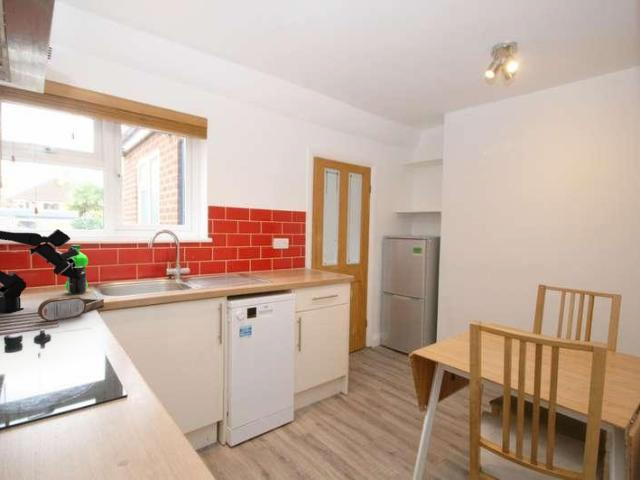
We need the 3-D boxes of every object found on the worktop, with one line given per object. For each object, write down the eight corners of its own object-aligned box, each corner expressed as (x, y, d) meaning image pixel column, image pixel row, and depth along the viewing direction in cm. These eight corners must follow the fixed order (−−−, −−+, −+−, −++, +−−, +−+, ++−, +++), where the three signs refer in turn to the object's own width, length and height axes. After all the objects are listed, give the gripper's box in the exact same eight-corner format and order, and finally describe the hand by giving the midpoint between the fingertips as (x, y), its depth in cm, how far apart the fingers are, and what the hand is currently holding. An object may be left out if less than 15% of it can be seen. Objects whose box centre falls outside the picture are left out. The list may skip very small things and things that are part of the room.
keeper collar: (82, 313, 138) (82, 306, 138) (54, 312, 139) (54, 305, 139) (103, 305, 151) (103, 299, 150) (77, 304, 151) (77, 298, 151)
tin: (84, 314, 137) (84, 294, 137) (87, 315, 135) (87, 295, 135) (37, 322, 126) (37, 300, 125) (39, 323, 124) (39, 301, 123)
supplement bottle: (65, 294, 151) (65, 267, 150) (72, 290, 157) (71, 265, 156) (83, 293, 153) (82, 267, 152) (89, 290, 159) (88, 265, 158)
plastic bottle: (86, 293, 172) (85, 245, 171) (61, 295, 168) (60, 246, 167) (90, 290, 181) (90, 244, 180) (67, 291, 177) (66, 244, 176)
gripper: (62, 243, 143) (93, 267, 149) (69, 240, 160) (97, 262, 166) (39, 262, 140) (72, 286, 146) (49, 257, 156) (78, 279, 162)
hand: (81, 277), depth 155 cm, fingers closed on supplement bottle, 7 cm apart
